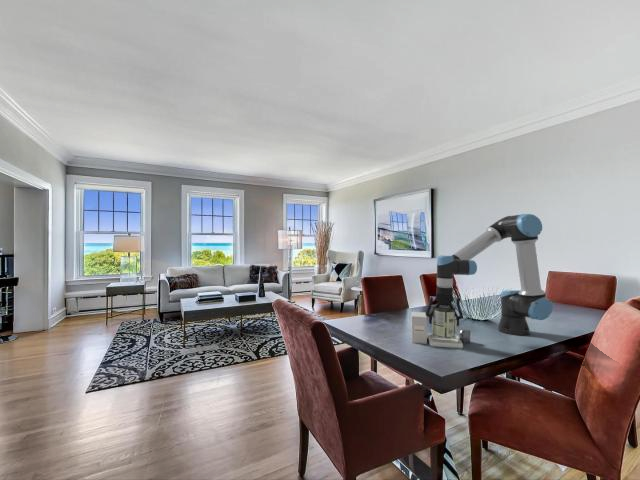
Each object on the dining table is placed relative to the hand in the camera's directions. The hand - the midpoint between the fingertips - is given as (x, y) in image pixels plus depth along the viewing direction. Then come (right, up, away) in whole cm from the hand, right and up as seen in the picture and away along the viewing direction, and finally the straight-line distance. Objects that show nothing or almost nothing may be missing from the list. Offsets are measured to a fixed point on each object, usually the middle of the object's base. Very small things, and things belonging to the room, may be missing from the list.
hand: (443, 331), depth 156 cm
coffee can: (0, -3, 0) cm, 3 cm away
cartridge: (+11, -6, +1) cm, 12 cm away
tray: (0, -6, 0) cm, 6 cm away
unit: (-11, -6, +4) cm, 13 cm away
